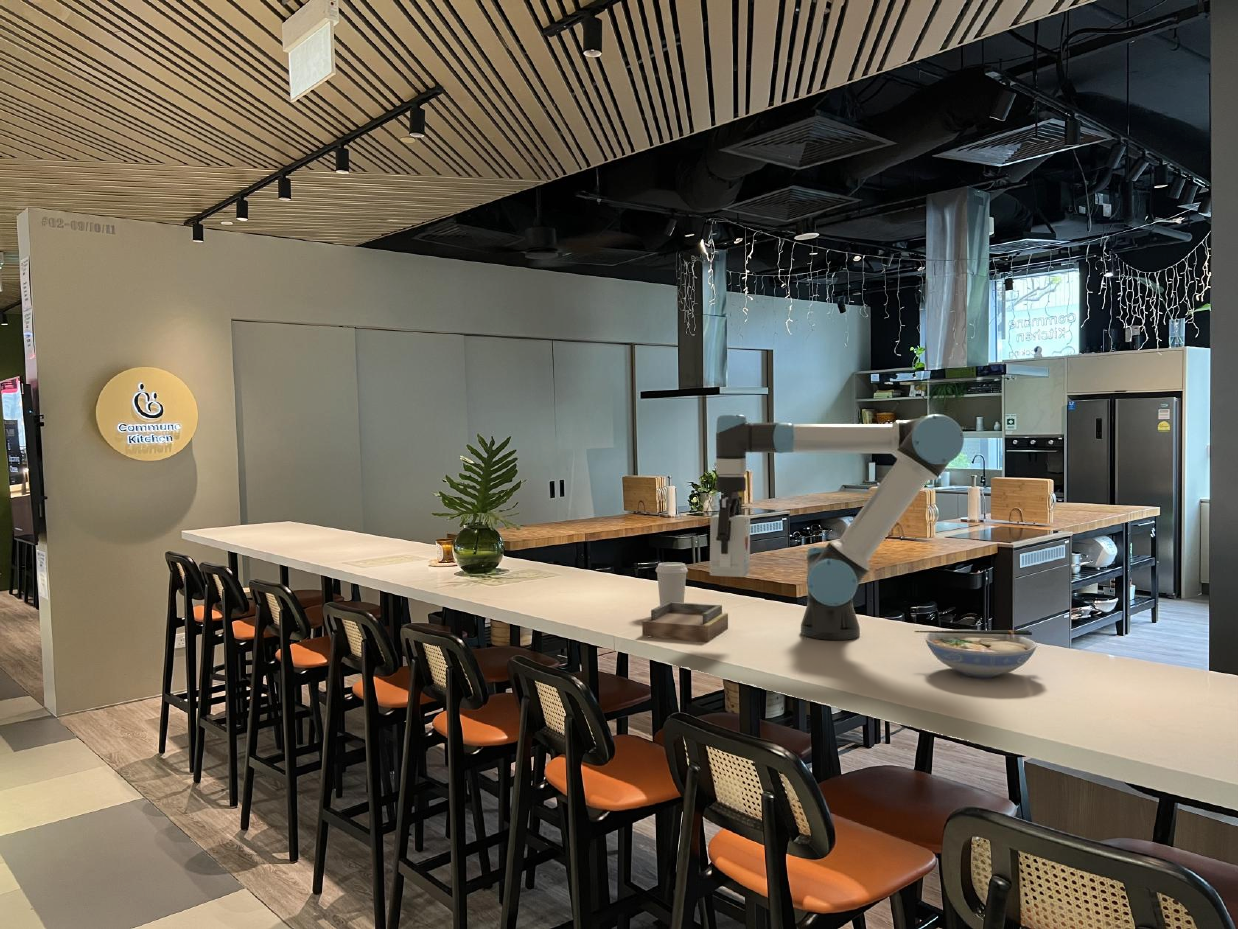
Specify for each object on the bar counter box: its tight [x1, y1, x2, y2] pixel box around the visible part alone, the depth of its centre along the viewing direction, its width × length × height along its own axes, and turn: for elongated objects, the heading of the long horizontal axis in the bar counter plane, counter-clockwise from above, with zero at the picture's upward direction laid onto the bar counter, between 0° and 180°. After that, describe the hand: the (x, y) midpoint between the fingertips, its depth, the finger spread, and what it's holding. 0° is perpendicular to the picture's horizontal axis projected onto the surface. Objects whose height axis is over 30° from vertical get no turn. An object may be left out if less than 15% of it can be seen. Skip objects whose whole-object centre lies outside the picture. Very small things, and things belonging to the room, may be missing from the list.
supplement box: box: [709, 513, 751, 578], centre depth 228 cm, size 9×9×15 cm
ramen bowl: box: [914, 629, 1038, 679], centre depth 195 cm, size 25×23×8 cm
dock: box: [641, 602, 729, 643], centre depth 240 cm, size 18×18×6 cm
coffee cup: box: [655, 561, 689, 606], centre depth 265 cm, size 10×10×15 cm
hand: (730, 564), depth 228 cm, fingers closed on supplement box, 9 cm apart
